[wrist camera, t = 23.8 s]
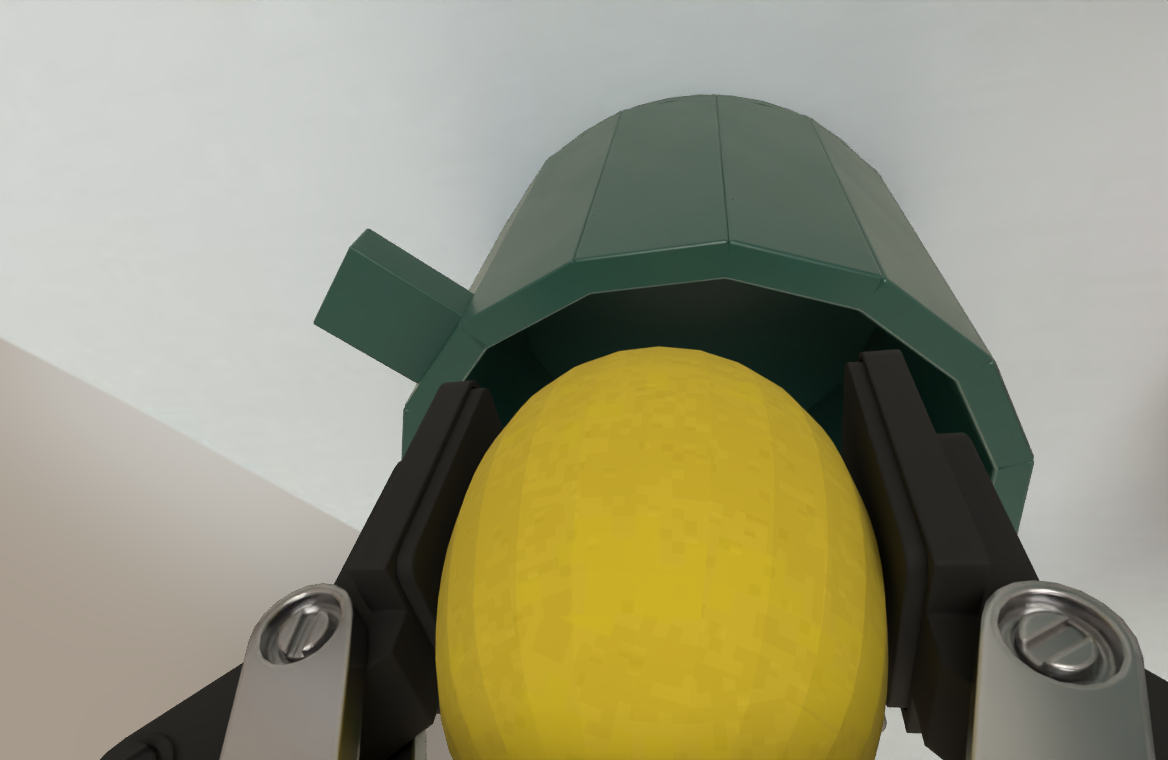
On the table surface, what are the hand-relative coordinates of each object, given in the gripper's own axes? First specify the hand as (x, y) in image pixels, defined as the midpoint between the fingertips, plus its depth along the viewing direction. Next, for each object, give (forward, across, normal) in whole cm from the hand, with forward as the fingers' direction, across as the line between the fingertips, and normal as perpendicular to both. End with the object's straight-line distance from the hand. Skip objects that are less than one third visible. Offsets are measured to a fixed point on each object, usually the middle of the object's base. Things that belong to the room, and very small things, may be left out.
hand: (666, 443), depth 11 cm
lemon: (+2, 0, 0) cm, 2 cm away
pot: (+14, 0, +5) cm, 15 cm away
